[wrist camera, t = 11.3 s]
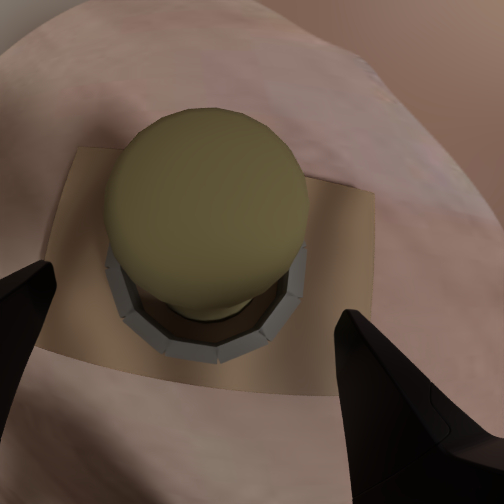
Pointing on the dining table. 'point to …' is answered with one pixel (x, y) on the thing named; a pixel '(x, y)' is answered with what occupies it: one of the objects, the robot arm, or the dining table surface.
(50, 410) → the dining table surface
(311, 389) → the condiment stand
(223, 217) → the cork
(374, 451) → the robot arm
